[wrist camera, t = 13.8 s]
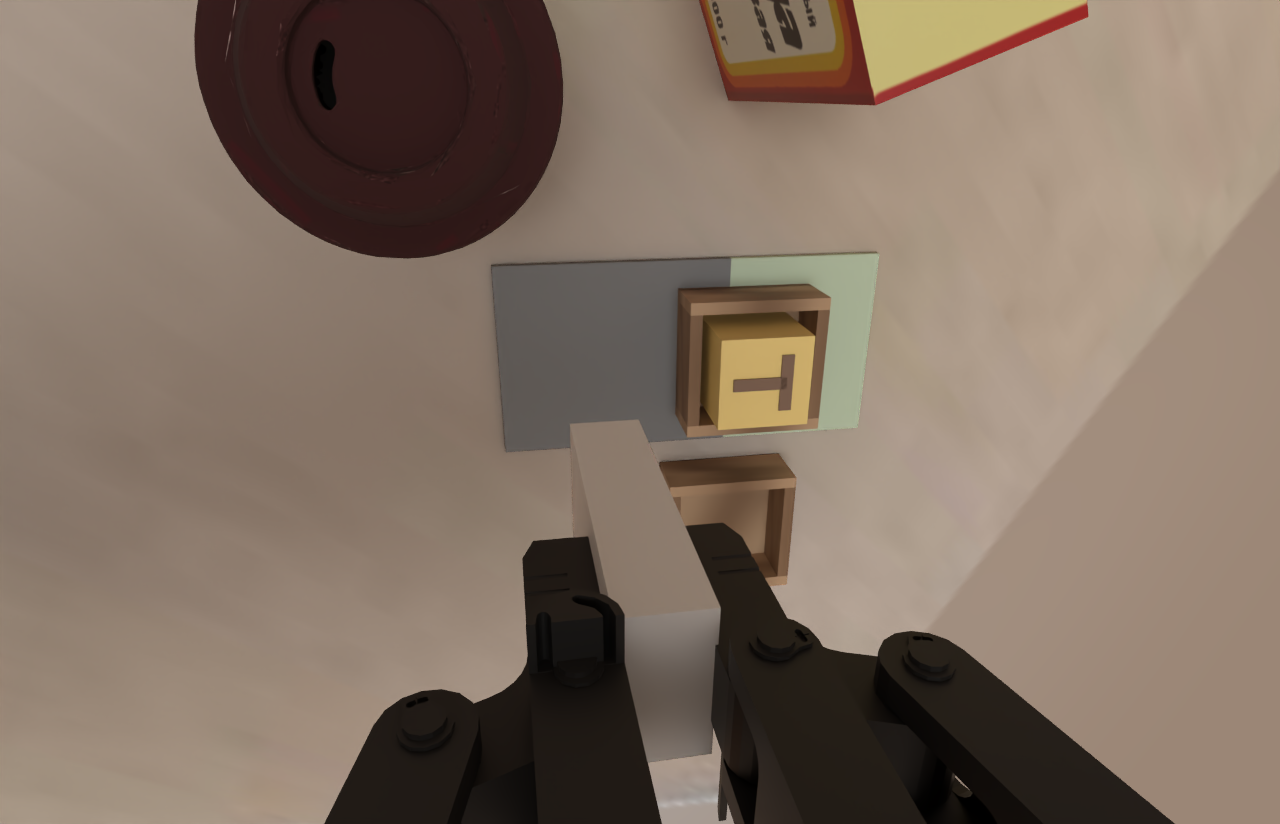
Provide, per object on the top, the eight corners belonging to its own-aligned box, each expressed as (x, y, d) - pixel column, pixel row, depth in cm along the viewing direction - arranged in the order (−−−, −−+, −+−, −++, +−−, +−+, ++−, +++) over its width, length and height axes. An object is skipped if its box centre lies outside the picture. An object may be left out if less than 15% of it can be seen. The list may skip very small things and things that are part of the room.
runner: (505, 448, 40) (505, 452, 40) (491, 265, 37) (491, 266, 36) (854, 424, 43) (857, 427, 43) (875, 252, 39) (879, 253, 39)
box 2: (658, 565, 45) (668, 596, 42) (659, 462, 42) (670, 487, 40) (770, 555, 46) (786, 584, 43) (778, 453, 43) (796, 477, 41)
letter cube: (696, 395, 40) (718, 430, 36) (699, 314, 38) (722, 341, 34) (777, 390, 41) (808, 424, 36) (783, 310, 39) (816, 336, 35)
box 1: (675, 414, 41) (687, 437, 38) (678, 288, 38) (690, 303, 35) (797, 406, 42) (817, 428, 39) (808, 283, 39) (831, 297, 36)
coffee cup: (588, 74, 34) (641, 61, 20) (458, 245, 36) (428, 337, 22) (398, -102, 30) (308, -261, 17) (266, 99, 32) (89, 105, 19)
